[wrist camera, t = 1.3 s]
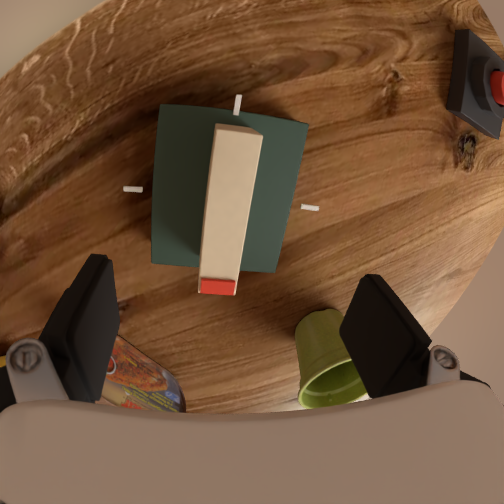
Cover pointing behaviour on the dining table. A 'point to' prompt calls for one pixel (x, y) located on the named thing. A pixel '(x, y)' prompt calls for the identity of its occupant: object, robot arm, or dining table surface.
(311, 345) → the plant pot
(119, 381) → the tin
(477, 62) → the control block
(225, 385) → the dining table surface
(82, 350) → the robot arm
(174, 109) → the dial base
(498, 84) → the button
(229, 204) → the beige rectangular block
